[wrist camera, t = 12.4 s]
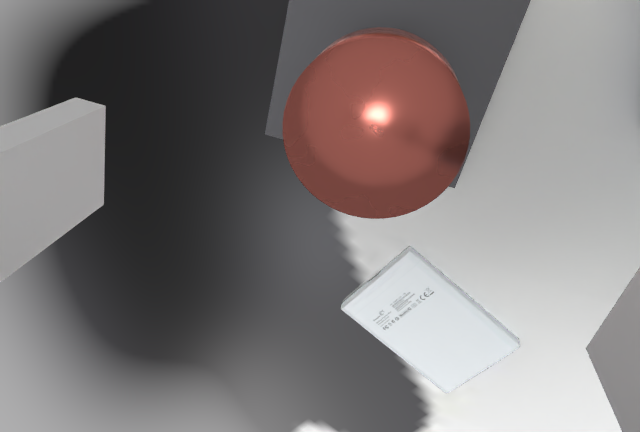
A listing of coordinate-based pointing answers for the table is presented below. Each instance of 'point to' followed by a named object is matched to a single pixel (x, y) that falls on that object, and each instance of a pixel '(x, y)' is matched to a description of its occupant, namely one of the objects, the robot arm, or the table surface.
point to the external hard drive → (429, 321)
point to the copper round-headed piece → (377, 124)
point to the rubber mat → (412, 16)
